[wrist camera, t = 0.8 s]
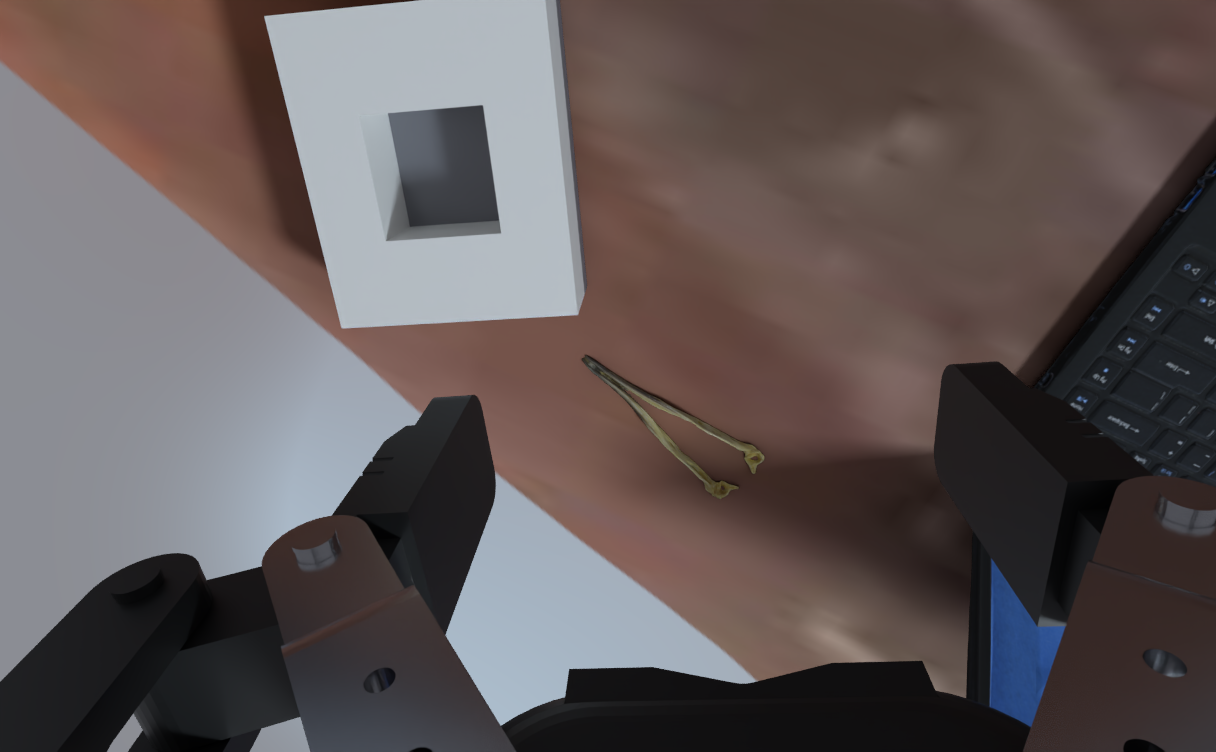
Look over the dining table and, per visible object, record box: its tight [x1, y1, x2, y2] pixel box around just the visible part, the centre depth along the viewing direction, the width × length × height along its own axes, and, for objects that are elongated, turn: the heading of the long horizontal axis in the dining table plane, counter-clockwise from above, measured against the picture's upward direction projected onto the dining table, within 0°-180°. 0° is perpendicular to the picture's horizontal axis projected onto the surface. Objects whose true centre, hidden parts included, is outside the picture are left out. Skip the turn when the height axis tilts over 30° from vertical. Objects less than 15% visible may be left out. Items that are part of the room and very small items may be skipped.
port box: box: [264, 0, 587, 328], centre depth 33 cm, size 14×12×5 cm
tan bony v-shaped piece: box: [582, 355, 764, 499], centre depth 41 cm, size 4×13×2 cm, turn 56°
